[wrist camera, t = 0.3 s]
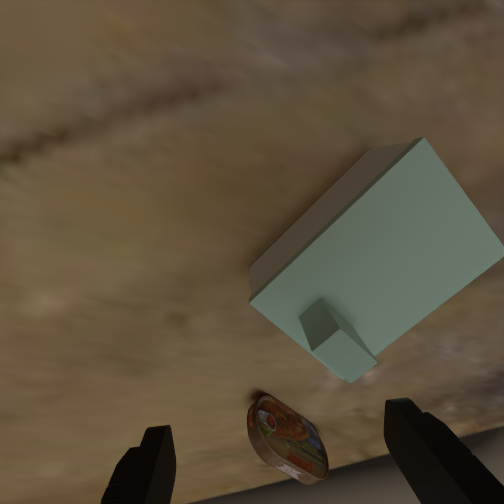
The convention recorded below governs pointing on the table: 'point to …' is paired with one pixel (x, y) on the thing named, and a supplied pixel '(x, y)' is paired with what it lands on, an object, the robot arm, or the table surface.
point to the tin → (286, 441)
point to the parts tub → (322, 212)
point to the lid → (380, 264)
